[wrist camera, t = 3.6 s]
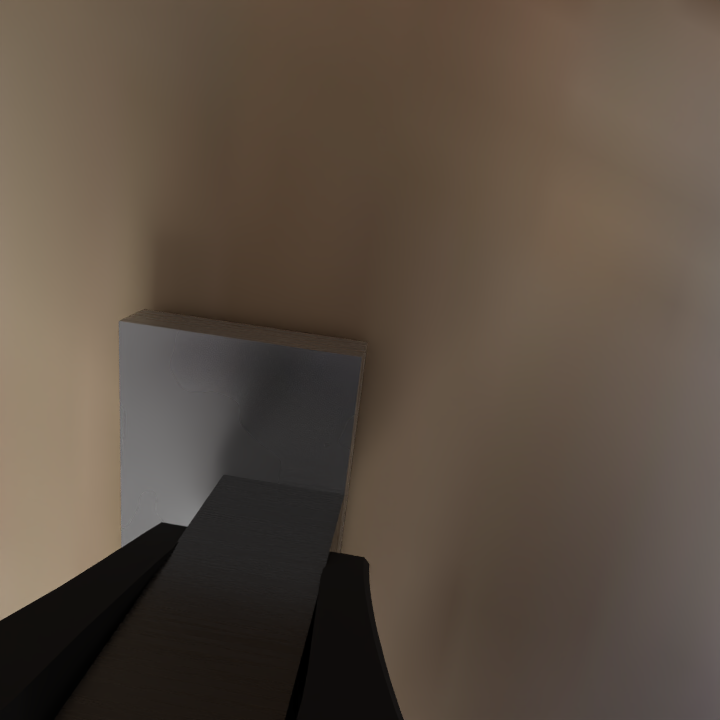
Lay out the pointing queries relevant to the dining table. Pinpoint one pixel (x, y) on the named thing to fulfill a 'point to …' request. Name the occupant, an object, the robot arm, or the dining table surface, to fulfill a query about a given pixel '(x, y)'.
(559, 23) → the dining table surface
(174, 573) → the grey block
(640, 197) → the dining table surface
